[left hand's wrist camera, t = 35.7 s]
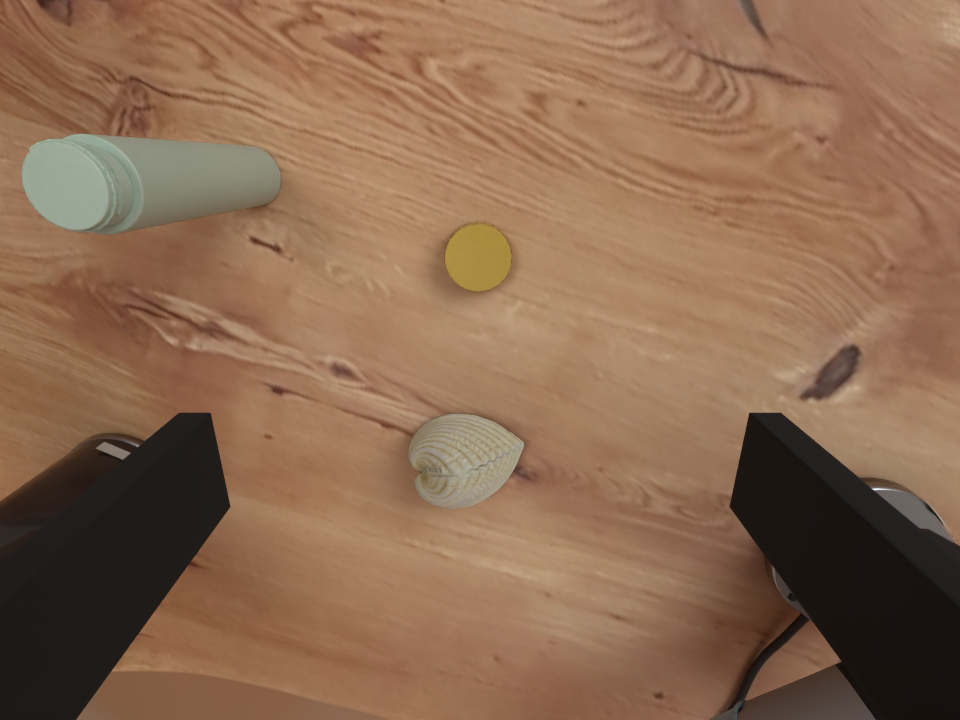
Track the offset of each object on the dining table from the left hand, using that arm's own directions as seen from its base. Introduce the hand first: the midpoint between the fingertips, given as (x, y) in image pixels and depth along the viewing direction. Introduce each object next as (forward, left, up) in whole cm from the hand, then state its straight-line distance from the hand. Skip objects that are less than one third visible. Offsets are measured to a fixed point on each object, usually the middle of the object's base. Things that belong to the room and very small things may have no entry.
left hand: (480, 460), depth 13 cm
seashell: (-17, -1, -29) cm, 34 cm away
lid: (0, 0, -27) cm, 27 cm away
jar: (+3, +17, -29) cm, 34 cm away
